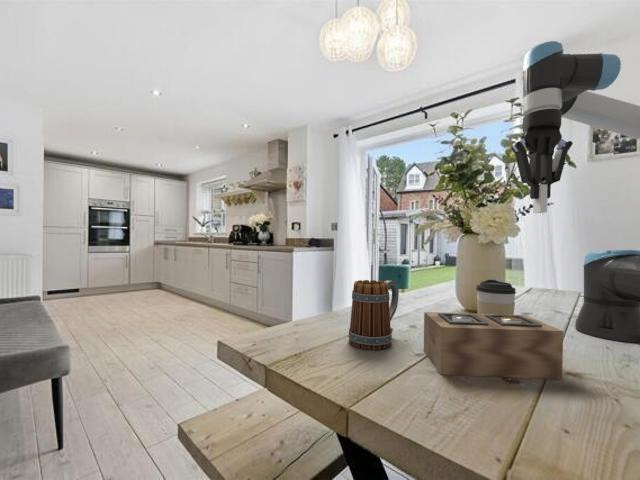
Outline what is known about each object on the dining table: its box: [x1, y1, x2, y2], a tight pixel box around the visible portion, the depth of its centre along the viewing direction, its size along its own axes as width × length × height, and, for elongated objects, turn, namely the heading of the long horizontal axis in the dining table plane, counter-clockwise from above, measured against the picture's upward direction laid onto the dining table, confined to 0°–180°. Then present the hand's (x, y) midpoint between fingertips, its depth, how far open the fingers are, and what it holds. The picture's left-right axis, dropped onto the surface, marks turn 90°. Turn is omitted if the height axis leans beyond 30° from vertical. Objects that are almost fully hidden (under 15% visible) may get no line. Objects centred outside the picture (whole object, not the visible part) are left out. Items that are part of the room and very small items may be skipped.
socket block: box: [423, 311, 564, 380], centre depth 64 cm, size 22×12×9 cm, turn 86°
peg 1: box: [452, 315, 471, 322], centre depth 64 cm, size 4×4×8 cm
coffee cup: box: [475, 279, 517, 315], centre depth 80 cm, size 9×9×15 cm
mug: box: [348, 279, 400, 351], centre depth 77 cm, size 16×11×15 cm
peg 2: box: [501, 317, 522, 323], centre depth 63 cm, size 4×4×8 cm
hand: (539, 212), depth 73 cm, fingers closed
